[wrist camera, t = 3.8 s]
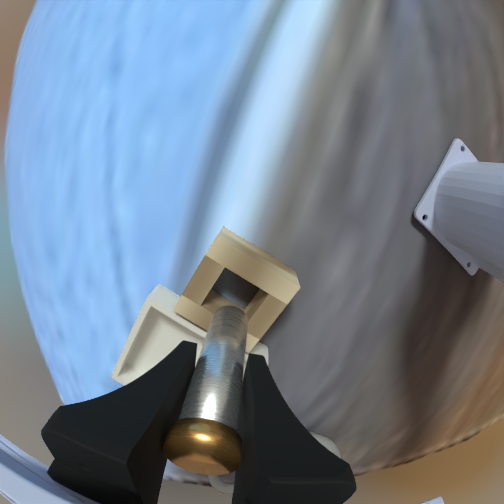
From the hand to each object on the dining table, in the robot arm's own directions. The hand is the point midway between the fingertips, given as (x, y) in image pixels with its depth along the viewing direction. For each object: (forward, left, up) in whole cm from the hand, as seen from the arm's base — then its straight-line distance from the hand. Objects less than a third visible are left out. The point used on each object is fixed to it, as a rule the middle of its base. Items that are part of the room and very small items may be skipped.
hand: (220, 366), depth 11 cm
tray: (0, +9, -10) cm, 13 cm away
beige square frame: (0, 0, -10) cm, 10 cm away
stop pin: (0, 0, -4) cm, 4 cm away
